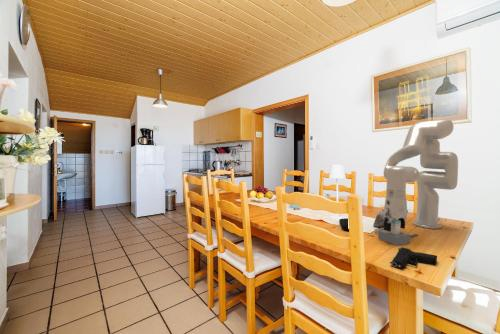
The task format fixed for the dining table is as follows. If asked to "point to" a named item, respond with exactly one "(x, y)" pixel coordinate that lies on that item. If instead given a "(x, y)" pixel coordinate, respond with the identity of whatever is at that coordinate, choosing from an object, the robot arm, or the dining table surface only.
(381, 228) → the grey square frame
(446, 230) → the dining table surface
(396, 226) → the plug
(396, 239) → the port
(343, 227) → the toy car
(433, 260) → the handgun
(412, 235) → the dark grey bar
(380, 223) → the rock
